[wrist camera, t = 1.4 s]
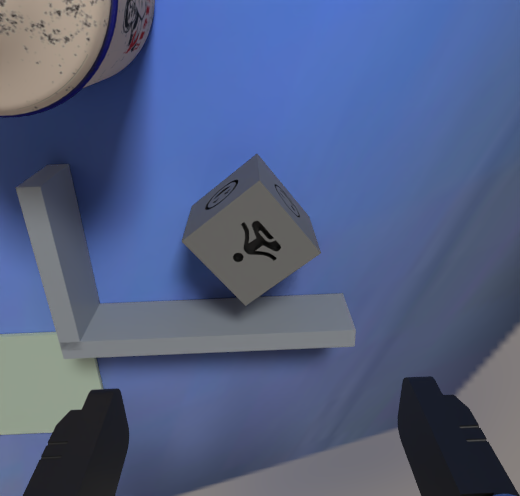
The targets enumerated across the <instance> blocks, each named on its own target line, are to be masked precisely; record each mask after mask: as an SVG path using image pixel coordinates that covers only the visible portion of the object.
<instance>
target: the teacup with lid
mask: <svg viewBox="0 0 520 496" xmlns="http://www.w3.org/2000/svg"><path fill="white" fill-rule="evenodd" d="M154 2H155V0H0V117H4V118H6V117H22V116H29V115H33V114H37V113H41V112H44V111H47V110H49V109H52V108H54V107H56V106H58V105H60V104H62V103H64V102H65V101H67V100H68V99H70V98H71V97H73V96H74V95H75V94H76V93H78V92H79V91H80V90H81V89H82V88H85V87H87V86H90V85H92V84H95V83H97V82H100V81H102V80H104V79H107V78H109V77H111V76H113V75H115V74H117V73H118V72H120V71H121V70H123V69H124V68H125V67H126V66H127V65H129V64H130V63H131V61H132V60H133V59H134V58H135V57H136V56H137V54H138V53H139V52H140V50H141V48H142V47H143V45H144V43H145V41H146V39H147V37H148V34H149V31H150V28H151V24H152V20H153V14H154Z"/></svg>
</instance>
